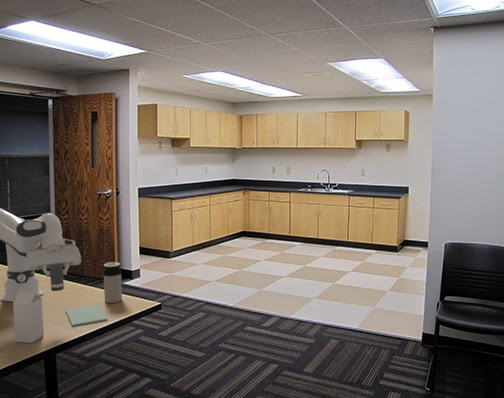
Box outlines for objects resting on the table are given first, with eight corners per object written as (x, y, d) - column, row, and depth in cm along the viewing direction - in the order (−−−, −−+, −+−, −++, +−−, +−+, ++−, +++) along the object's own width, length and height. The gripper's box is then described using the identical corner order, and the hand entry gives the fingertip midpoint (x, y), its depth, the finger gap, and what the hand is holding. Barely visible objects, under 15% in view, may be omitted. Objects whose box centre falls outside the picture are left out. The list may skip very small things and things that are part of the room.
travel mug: (104, 304, 216) (102, 266, 214) (105, 299, 223) (103, 262, 221) (122, 302, 218) (120, 265, 216) (122, 297, 225) (120, 261, 223)
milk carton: (32, 343, 172) (29, 294, 170) (15, 342, 173) (12, 293, 171) (44, 335, 179) (41, 288, 177) (27, 334, 180) (24, 287, 178)
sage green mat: (65, 311, 206) (65, 310, 205) (98, 306, 212) (98, 304, 212) (72, 326, 188) (72, 324, 188) (107, 320, 195) (107, 318, 195)
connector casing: (50, 288, 189) (48, 263, 188) (63, 286, 191) (62, 262, 190) (51, 291, 184) (50, 266, 183) (64, 289, 187) (63, 264, 186)
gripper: (25, 245, 187) (28, 274, 180) (78, 240, 197) (83, 267, 190) (26, 254, 192) (28, 282, 184) (77, 248, 201) (82, 275, 194)
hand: (56, 275), depth 187 cm, fingers closed on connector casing, 5 cm apart
